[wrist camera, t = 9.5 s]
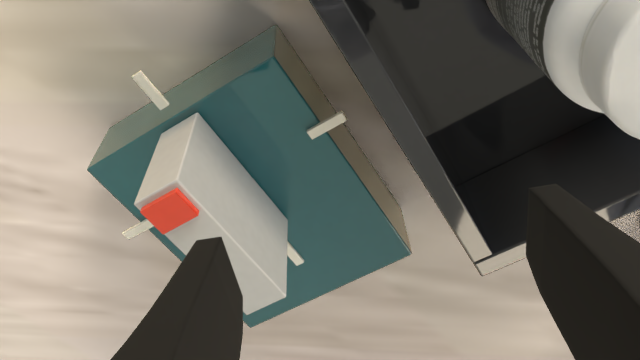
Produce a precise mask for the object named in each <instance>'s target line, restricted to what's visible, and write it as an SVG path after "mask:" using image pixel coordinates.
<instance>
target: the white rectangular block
mask: <svg viewBox="0 0 640 360" xmlns="http://www.w3.org/2000/svg"><path fill="white" fill-rule="evenodd" d="M134 205H135V206H136V207H137V208H138V209H139V210H140V213H141V214H142V215H143V216H144V217H145V218H146V219H147V220H148V221H149V222H151V223H152V224H153V225H154V226H155V227H156V228H157V229H158V230H159V231H160V232H161V233H162V234H163V235H165V236H166V237H167V238H168V239H169V240H170V241H171V242H172V243H173V244H174V245H176V246H177V247H178V248H179V249H180V250H181V251H182V252H183V253H184V254H185V255H187V253H188V252H189V250H190V249H191V247H192V246H193V244H194V243H195V242H196V240H202V239H208V238H214V237H222V240H223V242H224V245H225V248H226V251H227V254H228V256H229V259H230V262H231V265H232V268H233V270H234V273H235V276H236V279H237V282H238V284H239V287H240V290H241V293H242V295H243V312H244V313H245V314H246V315H249V314H251V313H253V312H255V311H257V310H259V309H261V308H264V307H266V306H268V305H270V304H272V303H274V302H276V301H279V300H281V299H283V298H285V297H286V291H287V240H288V220H287V218H286V217H285V216H284V215H283V214H282V212H281V211H280V210H279V209H278V208H277V206H276V205H275V204H274V203H273V202H272V200H271V199H270V198H269V197H268V196H267V194H266V193H265V192H264V191H263V190H262V188H261V187H260V186H259V185H258V184H257V182H256V181H255V180H254V179H253V178H252V177H251V175H250V174H249V173H248V172H247V171H246V169H245V168H244V167H243V166H242V165H241V163H240V162H239V161H238V160H237V159H236V157H235V156H234V155H233V154H232V153H231V151H230V150H229V149H228V148H227V147H226V145H225V144H224V143H223V142H222V141H221V139H220V138H219V137H218V136H217V135H216V133H215V132H214V131H213V130H212V129H211V127H210V126H209V125H208V124H207V123H206V121H205V120H204V119H203V118H202V117H201V115H200V114H199V113H198V112H197V113H195V114H193V115H192V116H190V117H188V118H187V119H185V120H183V121H182V122H180V123H178V124H177V125H175V126H173V127H172V128H170V129H168V130H167V131H165V132H163V133H162V134H161V135H160V138H159V141H158V143H157V146H156V148H155V151H154V153H153V156H152V158H151V161H150V164H149V166H148V169H147V171H146V174H145V176H144V179H143V181H142V184H141V187H140V189H139V192H138V194H137V197H136V199H135V202H134Z"/></svg>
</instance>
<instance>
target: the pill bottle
mask: <svg viewBox="0 0 640 360" xmlns="http://www.w3.org/2000/svg"><path fill="white" fill-rule="evenodd" d="M486 2H487V5H488V7H489V9H490V11H491V12H492V14H493V15H494V17H495V18H496V19H497V21H498V22H499V23H500V24H501V25H502V26H503V28H504V29H505V30H506V31H507V32H508V33H509V34H510V35H511V36H512V37H513V38H514V39H515V41H516V42H517V43H518V44H519V45H520V46H521V47H522V48H523V49H524V51H525V52H526V53H527V54H528V55H529V56H530V58H531V59H532V60H533V61H534V62H535V63H536V64H537V65H538V66H539V68H540V69H541V70H542V71H543V72H544V74H545V75H546V76H547V77H548V78H549V79H550V80H551V81H552V83H553V84H554V85H555V86H556V87H557V88H558V89H559V90H560V91H561V92H562V93H563V94H564V95H566V96H567V97H568V98H569V99H571V100H572V101H574V102H575V103H577V104H579V105H580V106H582V107H584V108H587V109H590V110H592V111H596V112H600V113H604V114H605V115H606V116H607V117H608V118H609V119H610V120H611V121H612V122H613V123H614V124H615V125H616V126H617V127H619V128H620V129H621V130H623V131H624V132H625V133H627V134H628V135H630V136H633V137H635V138H637V139H640V0H486Z"/></svg>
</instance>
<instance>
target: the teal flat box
mask: <svg viewBox="0 0 640 360" xmlns="http://www.w3.org/2000/svg"><path fill="white" fill-rule="evenodd" d="M132 79H133V80H134V81H135V82H136V83H137V85H138V86H139V87H140V88H141V89H142V90H143V91H144V93H145V94H146V95H147V96H148V97H149V98H150V99H151V100H152V102H151V103H149V104H148V105H146V106H144V107H143V108H141V109H140V110H138V111H136V112H135V113H133V114H132V115H130V116H128V117H127V118H125V119H124V120H122V121H120V122H119V123H117V124H116V125H114V126H112V127H111V128H109V130H108V132H107V134H106V136H105V137H104V139H103V141H102V143H101V145H100V147H99V148H98V150H97V152H96V154H95V156H94V157H93V159H92V161H91V163H90V165H89V167H88V168H87V170H88V172H90V173H91V174H92V175H93V176H94V177H95V178H96V179H97V180H98V181H99V182H100V183H101V184H102V185H103V186H104V187H105V188H106V189H107V190H108V191H109V192H110V193H111V194H112V195H113V196H114V197H115V198H116V199H117V200H119V201H120V202H121V203H122V204H123V205H124V206H125V207H126V208H127V209H128V210H129V211H130V212H131V213H132V214H133V215H134V216H135V217H136V218H137V219H138V220H139V221H140V223H138V224H136V225H134V226H133V227H131V228H129V229H127V230H125V231H124V232H123V233H122V235H123V236H124V237H125V238H127V239H128V240H130V239H131V238H133V237H135V236H137V235H139V234H140V233H142V232H144V231H146V230H148V229H149V230H150V231H151V232H152V233H153V234H154V235H155V236H156V237H157V238H158V239H159V240H160V241H161V242H162V243H163V244H164V245H165V246H166V247H167V248H168V249H169V250H170V251H171V252H172V253H173V254H174V255H175V256H176V257H178V258H179V259H180V260H181V261H183V260H184V258H185V257H186V255H185V254H184V253H183V252H182V251H181V250H180V249H179V248H178V247H177V246H176V245H174V244H173V243H172V242H171V241H170V240H169V239H168V238H167V237H166V236H165V235H163V234H162V233H161V232H160V231H159V230H158V229H157V228H156V227H155V226H154V225H153V224H152V223H151V222H149V221H148V220H147V219H146V218H145V217H144V216H143V215H142V214H141V213H140V210H139V209H138V208H137V207H136V206H135V205H134V202H135V199H136V197H137V194H138V192H139V189H140V187H141V184H142V181H143V179H144V176H145V174H146V171H147V169H148V166H149V164H150V161H151V158H152V156H153V153H154V151H155V148H156V146H157V143H158V141H159V138H160V135H161V134H162V133H163V132H165V131H167V130H168V129H170V128H172V127H173V126H175V125H177V124H178V123H180V122H182V121H183V120H185V119H187V118H188V117H190V116H192V115H193V114H195V113H197V112H198V113H199V114H200V115H201V117H202V118H203V119H204V120H205V121H206V123H207V124H208V125H209V126H210V127H211V129H212V130H213V131H214V132H215V133H216V135H217V136H218V137H219V138H220V139H221V141H222V142H223V143H224V144H225V145H226V147H227V148H228V149H229V150H230V151H231V153H232V154H233V155H234V156H235V157H236V159H237V160H238V161H239V162H240V163H241V165H242V166H243V167H244V168H245V169H246V171H247V172H248V173H249V174H250V175H251V177H252V178H253V179H254V180H255V181H256V182H257V184H258V185H259V186H260V187H261V188H262V190H263V191H264V192H265V193H266V194H267V196H268V197H269V198H270V199H271V200H272V202H273V203H274V204H275V205H276V206H277V208H278V209H279V210H280V211H281V212H282V214H283V215H284V216H285V217H286V218H287V220H288V240H287V291H286V297H285V298H283V299H281V300H279V301H276V302H274V303H272V304H270V305H268V306H266V307H264V308H261V309H259V310H257V311H255V312H253V313H251V314H249V315H246V314H245V313H244V312H243V321H244V322H245V323H246V324H247V325H248V326H249V327H250V328H251V327H253V326H256V325H258V324H260V323H262V322H264V321H267V320H269V319H271V318H273V317H275V316H278V315H280V314H282V313H284V312H286V311H289V310H291V309H293V308H295V307H297V306H299V305H302V304H304V303H306V302H308V301H310V300H313V299H315V298H317V297H319V296H321V295H324V294H326V293H328V292H330V291H332V290H335V289H337V288H339V287H341V286H343V285H345V284H348V283H350V282H352V281H354V280H356V279H359V278H361V277H363V276H365V275H367V274H370V273H372V272H374V271H376V270H378V269H380V268H383V267H385V266H387V265H389V264H391V263H394V262H396V261H398V260H400V259H402V258H405V257H407V256H409V255H411V254H412V251H411V247H410V243H409V239H408V235H407V231H406V227H405V223H404V219H403V215H402V211H401V208H400V207H399V205H398V204H397V202H396V201H395V199H394V198H393V196H392V195H391V193H390V192H389V190H388V189H387V187H386V186H385V184H384V183H383V182H382V180H381V179H380V177H379V176H378V174H377V173H376V171H375V170H374V168H373V167H372V165H371V164H370V162H369V161H368V159H367V158H366V156H365V155H364V153H363V152H362V150H361V149H360V147H359V146H358V144H357V143H356V141H355V140H354V138H353V137H352V136H351V134H350V133H349V131H348V130H347V128H346V127H345V125H344V124H343V122H345V121H347V118H346V116H345V115H344V113H343V112H342V111H340V112H338V113H336V112H335V110H334V109H333V107H332V106H331V104H330V103H329V101H328V100H327V98H326V97H325V95H324V94H323V93H322V91H321V90H320V88H319V87H318V85H317V84H316V82H315V81H314V79H313V78H312V76H311V75H310V73H309V72H308V70H307V69H306V67H305V66H304V64H303V63H302V61H301V60H300V58H299V57H298V55H297V54H296V52H295V51H294V50H293V48H292V47H291V45H290V44H289V42H288V41H287V39H286V38H285V36H284V35H283V33H282V32H281V30H280V29H279V27H278V26H277V25H274V26H272V27H271V28H269V29H268V30H266V31H264V32H263V33H261V34H260V35H258V36H256V37H255V38H253V39H252V40H250V41H248V42H247V43H245V44H244V45H242V46H240V47H239V48H237V49H236V50H234V51H232V52H231V53H229V54H228V55H226V56H224V57H223V58H221V59H220V60H218V61H216V62H215V63H213V64H212V65H210V66H208V67H207V68H205V69H204V70H202V71H200V72H199V73H197V74H196V75H194V76H192V77H191V78H189V79H188V80H186V81H184V82H183V83H181V84H180V85H178V86H176V87H175V88H173V89H172V90H170V91H168V92H167V93H165V94H164V95H162V94H161V93H160V92H159V91H158V90H157V88H156V87H155V86H154V85H153V84H152V83H151V81H150V80H149V79H148V78H147V77H146V76H145V74H144V73H143V72H142V71H141V70H140V71H139V72H137V73H136V74H134V75H133V76H132Z"/></svg>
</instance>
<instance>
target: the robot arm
mask: <svg viewBox="0 0 640 360" xmlns="http://www.w3.org/2000/svg"><path fill="white" fill-rule="evenodd" d="M526 256H527V259H528V262H529V265H530V268H531V270H532V273H533V276H534V279H535V281H536V284H537V286H538V289H539V292H540V294H541V296H542V298H543V300H544V302H545V303H546V305H547V307H548V309H549V311H550V313H551V315H552V317H553V319H554V321H555V323H556V324H557V326H558V328H559V330H560V332H561V334H562V336H563V338H564V339H565V341H566V343H567V345H568V347H569V349H570V351H571V353H572V354H573V356H574V358H575V360H640V243H639V242H638V241H636V240H634V239H633V238H631V237H630V236H628V235H627V234H625V233H624V232H622V231H621V230H619V229H618V228H617V227H615V226H614V225H612V224H611V223H609V222H608V221H606V220H605V219H604V218H602V217H601V216H599V215H598V214H597V213H595V212H594V211H593V210H591V209H590V208H588V207H587V206H586V205H584V204H583V203H582V202H580V201H579V200H578V199H576V198H575V197H574V196H572V195H571V194H569V193H568V192H567V191H565V190H564V189H563V188H561V187H560V186H559V185H557V184H551V185H544V186H538V187H532V188H529V193H528V215H527V236H526ZM242 334H243V295H242V293H241V290H240V287H239V284H238V282H237V279H236V276H235V273H234V270H233V268H232V265H231V262H230V259H229V256H228V254H227V251H226V248H225V245H224V242H223V240H222V237H214V238H208V239H202V240H196V242H195V243H194V244H193V246H192V247H191V249H190V250H189V252H188V253H187V255H186V257H185V258H184V260H183V261H182V263H181V264H180V266H179V267H178V269H177V271H176V272H175V274H174V275H173V277H172V278H171V280H170V281H169V283H168V284H167V286H166V287H165V289H164V290H163V292H162V293H161V295H160V296H159V297H158V299H157V300H156V302H155V303H154V305H153V306H152V308H151V309H150V310H149V312H148V313H147V315H146V316H145V317H144V318H143V320H142V321H141V322H140V324H139V325H138V326H137V328H136V329H135V330H134V332H133V333H132V334H131V336H130V337H129V338H128V339H127V341H126V342H125V343H124V344H123V346H122V347H121V348H120V349H119V350H118V352H117V353H116V354H115V355H114V356H113V357H112V358H111V360H239V358H240V351H241V343H242Z"/></svg>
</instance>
